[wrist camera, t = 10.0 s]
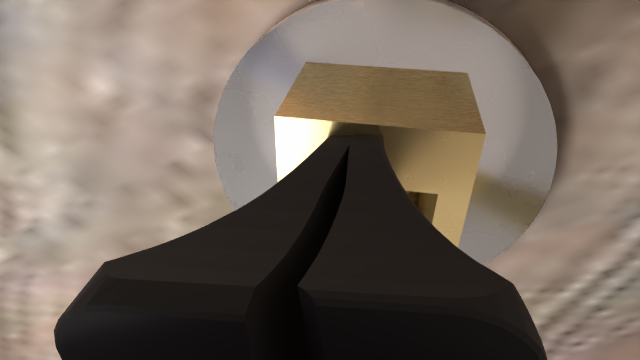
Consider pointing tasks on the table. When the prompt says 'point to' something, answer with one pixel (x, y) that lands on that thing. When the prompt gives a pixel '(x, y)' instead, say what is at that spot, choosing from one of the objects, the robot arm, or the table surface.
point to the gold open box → (392, 129)
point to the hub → (410, 53)
